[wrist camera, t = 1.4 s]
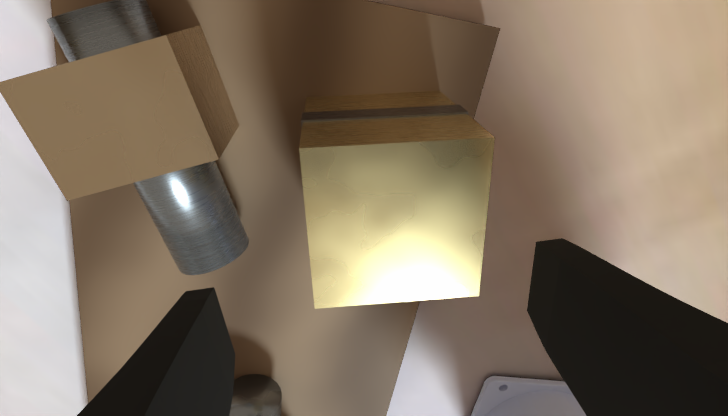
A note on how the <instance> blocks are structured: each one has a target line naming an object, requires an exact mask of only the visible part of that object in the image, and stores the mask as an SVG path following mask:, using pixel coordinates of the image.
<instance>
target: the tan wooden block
mask: <svg viewBox="0 0 728 416" xmlns="http://www.w3.org/2000/svg"><path fill="white" fill-rule="evenodd" d="M301 127H302V131H301V138H300V145H299V153H300V163H301V173H302V184H303V194H304V204H305V215H306V225H307V235H308V245H309V256H310V266H311V276H312V287H313V297H314V307H315V309H319V308H331V307H344V306H357V305H370V304H383V303H395V302H408V301H421V300H434V299H447V298H460V297H472V296H479V290H480V280H481V270H482V260H483V250H484V240H485V230H486V220H487V210H488V200H489V190H490V180H491V170H492V160H493V150H494V140H495V137H494V136H492V135H491V134H490V133H489V132H488V131H486V130H485V129H484V128H483V127H482V126H481V125H479V124H478V123H477V122H476V121H475V120H474V119H472V118H471V117H470V116H469V115H468V111H467V110H465V109H464V108H463V107H462V106H461V105H456V104H455V103H454V102H452V101H451V100H450V99H449V98H448V97H446V96H445V95H444V94H443V93H442V92H441V91H425V92H404V93H383V94H363V95H342V96H321V97H306V103H305V110H304V112H302V117H301Z"/></svg>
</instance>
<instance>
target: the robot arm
mask: <svg viewBox="0 0 728 416" xmlns="http://www.w3.org/2000/svg"><path fill="white" fill-rule="evenodd" d="M527 311H528V313H529V316H530V318H531V320H532V322H533V325H534V327H535V329H536V332H537V334H538V336H539V338H540V340H541V342H542V344H543V346H544V348H545V350H546V352H547V353H548V355H549V357H550V358H551V360H552V362H553V363H554V365H555V367H556V368H557V370H558V371H559V373H560V375H561V376H562V378H563V379H564V381H553V380H540V379H527V378H515V377H502V376H491V377H489V378H487V379H486V380H485V382H484V385H483V387H482V389H481V392H480V394H479V397H478V399H477V402H476V404H475V407H474V409H473V412H472V414H471V416H728V323H726V322H724V321H722V320H720V319H718V318H716V317H713V316H711V315H709V314H707V313H705V312H703V311H701V310H699V309H697V308H695V307H693V306H691V305H688V304H686V303H684V302H682V301H680V300H678V299H676V298H674V297H672V296H670V295H668V294H666V293H664V292H662V291H661V290H659V289H657V288H655V287H653V286H651V285H649V284H647V283H645V282H643V281H642V280H640V279H638V278H636V277H634V276H632V275H630V274H629V273H627V272H625V271H623V270H621V269H619V268H618V267H616V266H614V265H612V264H610V263H608V262H607V261H605V260H603V259H601V258H599V257H597V256H596V255H594V254H592V253H590V252H588V251H586V250H584V249H583V248H581V247H579V246H577V245H575V244H573V243H571V242H569V241H567V240H565V239H554V240H547V241H540V242H536V247H535V255H534V262H533V270H532V277H531V285H530V293H529V300H528V308H527ZM234 370H235V351H234V348H233V345H232V342H231V339H230V336H229V332H228V329H227V326H226V323H225V320H224V317H223V314H222V310H221V307H220V304H219V301H218V298H217V295H216V291H215V288H214V287H212V288H205V289H198V290H191V291H185V293H184V294H183V295H182V296H181V297H180V298H179V300H178V301H177V302H176V303H175V304H174V306H173V307H172V308H171V309H170V310H169V312H168V313H167V314H166V315H165V316H164V318H163V319H162V320H161V321H160V323H159V324H158V325H157V326H156V327H155V329H154V330H153V331H152V332H151V333H150V335H149V336H148V337H147V338H146V339H145V341H144V342H143V343H142V344H141V345H140V347H139V348H138V349H137V350H136V351H135V352H134V354H133V355H132V356H131V357H130V358H129V359H128V361H127V362H126V363H125V364H124V365H123V366H122V368H121V369H120V370H119V371H118V372H117V373H116V374H115V375H114V376H113V377H112V379H111V380H110V381H109V382H108V383H107V384H106V385H105V386H104V387H103V388H102V389H101V390H100V392H99V393H98V394H97V395H96V396H95V397H94V398H93V399H92V400H91V401H90V402H89V403H88V404H87V406H86V407H85V408H84V409H83V410H82V411H81V412H80V413H79V414H78V415H77V416H229V414H230V409H231V404H232V397H233V385H234ZM501 385H502V386H501Z"/></svg>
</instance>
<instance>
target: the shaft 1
mask: <svg viewBox="0 0 728 416" xmlns="http://www.w3.org/2000/svg"><path fill="white" fill-rule="evenodd" d="M47 22H48V24H49V26H50V28H51V29H52V31H53V33H54V35H55V37H56V39H57V41H58V43H59V44H60V46H61V48H62V50H63V52H64V54H65V56H66V58H67V60H68V61H69V63H65V64H62V65H58V66H55V67H51V68H48V69H44V70H41V71H37V72H34V73H30V74H27V75H23V76H20V77H16V78H13V79H9V80H6V81H2V82H0V92H1V94H2V96H3V97H4V99H5V100H6V102H7V104H8V105H9V107H10V109H11V110H12V112H13V113H14V115H15V117H16V118H17V120H18V122H19V123H20V125H21V126H22V128H23V130H24V131H25V133H26V135H27V136H28V138H29V140H30V141H31V143H32V144H33V146H34V148H35V149H36V151H37V153H38V154H39V156H40V157H41V159H42V161H43V162H44V164H45V166H46V167H47V169H48V170H49V172H50V174H51V175H52V177H53V179H54V180H55V182H56V183H57V185H58V187H59V188H60V190H61V192H62V193H63V195H64V196H65V198H66V200H67V201H68V200H72V199H76V198H79V197H83V196H87V195H90V194H94V193H98V192H101V191H105V190H109V189H112V188H116V187H120V186H123V185H127V184H131V183H133V184H134V186H135V188H136V190H137V192H138V194H139V195H140V197H141V199H142V201H143V203H144V205H145V207H146V209H147V211H148V212H149V214H150V216H151V218H152V220H153V222H154V224H155V226H156V228H157V229H158V231H159V233H160V235H161V237H162V239H163V241H164V243H165V245H166V246H167V248H168V250H169V252H170V254H171V256H172V258H173V260H174V261H175V263H176V265H177V267H178V269H179V271H180V272H181V273H183V274H185V275H200V274H205V273H209V272H212V271H215V270H217V269H219V268H222V267H224V266H226V265H227V264H229V263H231V262H232V261H234V260H235V259H236V258H238V257H239V256H240V255H241V254H242V253H243V252H244V251H245V250H246V248H247V247H248V244H249V239H248V236H247V234H246V232H245V229H244V227H243V225H242V222H241V220H240V218H239V215H238V213H237V211H236V208H235V206H234V204H233V202H232V199H231V197H230V195H229V192H228V190H227V188H226V185H225V183H224V181H223V178H222V176H221V174H220V171H219V169H218V167H217V164H216V162H215V160H219V158H220V157H221V155H222V153H223V152H224V150H225V148H226V147H227V145H228V143H229V142H230V140H231V139H232V137H233V135H234V134H235V132H236V130H237V129H238V127H239V123H238V120H237V117H236V115H235V112H234V110H233V107H232V105H231V102H230V99H229V97H228V94H227V92H226V89H225V87H224V84H223V81H222V79H221V76H220V74H219V71H218V68H217V66H216V63H215V61H214V58H213V56H212V53H211V50H210V48H209V45H208V43H207V40H206V38H205V35H204V32H203V30H202V27H201V25H199V26H195V27H192V28H188V29H185V30H181V31H178V32H174V33H171V34H167V35H164V36H161V34H160V31H159V29H158V27H157V24H156V22H155V20H154V17H153V15H152V13H151V10H150V8H149V6H148V3H147V1H146V0H113V1H108V2H104V3H100V4H96V5H92V6H88V7H84V8H80V9H77V10H73V11H70V12H67V13H64V14H60V15H58V16H55V17H52V18H50V19H48V20H47Z"/></svg>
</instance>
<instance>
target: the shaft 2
mask: <svg viewBox="0 0 728 416" xmlns="http://www.w3.org/2000/svg"><path fill="white" fill-rule="evenodd" d="M281 405H282V392H281V388H280V386H279V385H278V383H277V382H276V381H275V380H273V379H272V378H270V377H268V376H265V375H261V374H249V375H244V376H241V377H239V378H236V379H235V380H234V385H233V397H232V404H231V409H230V414H229V416H281Z"/></svg>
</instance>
